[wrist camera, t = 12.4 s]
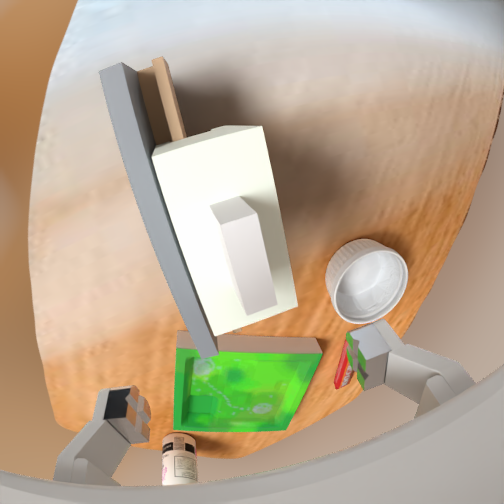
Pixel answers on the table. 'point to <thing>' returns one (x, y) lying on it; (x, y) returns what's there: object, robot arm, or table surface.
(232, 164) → the off-white handled block
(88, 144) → the table surface
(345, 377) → the candy bar
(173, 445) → the supplement can
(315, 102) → the table surface
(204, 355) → the wall board
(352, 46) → the table surface
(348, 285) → the ramekin
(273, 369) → the tray
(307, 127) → the table surface
